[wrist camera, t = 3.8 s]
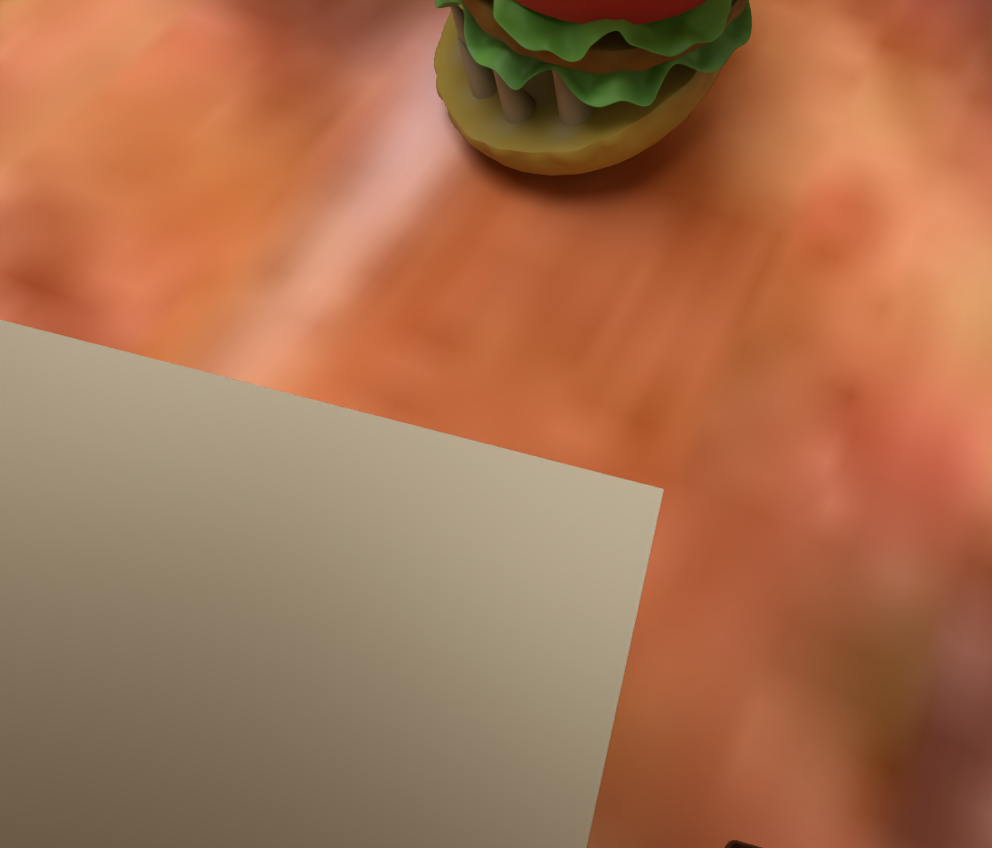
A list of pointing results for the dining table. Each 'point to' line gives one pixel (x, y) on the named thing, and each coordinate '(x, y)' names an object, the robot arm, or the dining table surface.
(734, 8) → the hamburger
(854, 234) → the dining table surface
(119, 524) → the birch post
